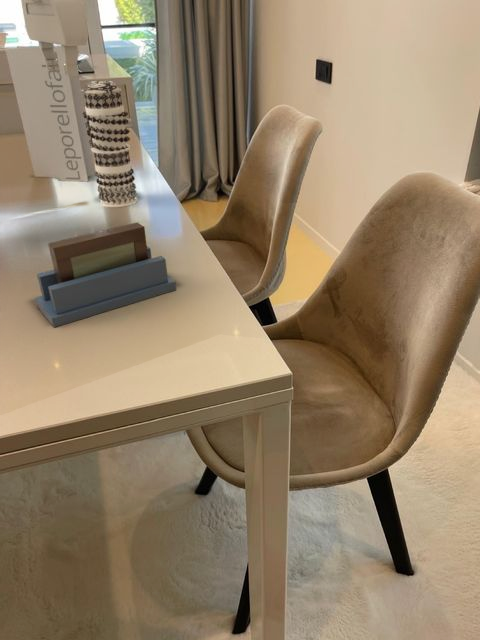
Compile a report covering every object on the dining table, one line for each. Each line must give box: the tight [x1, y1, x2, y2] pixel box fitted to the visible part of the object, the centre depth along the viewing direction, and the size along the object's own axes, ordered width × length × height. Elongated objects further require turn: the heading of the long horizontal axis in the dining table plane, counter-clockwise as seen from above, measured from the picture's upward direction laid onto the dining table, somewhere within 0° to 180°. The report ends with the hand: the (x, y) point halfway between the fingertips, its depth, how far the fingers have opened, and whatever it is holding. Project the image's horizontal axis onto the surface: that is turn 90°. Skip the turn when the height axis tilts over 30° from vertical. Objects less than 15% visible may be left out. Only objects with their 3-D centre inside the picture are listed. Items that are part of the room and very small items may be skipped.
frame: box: [47, 222, 148, 284], centre depth 85 cm, size 2×14×9 cm, turn 126°
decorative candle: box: [81, 80, 138, 208], centre depth 122 cm, size 9×9×25 cm
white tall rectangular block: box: [4, 45, 96, 182], centre depth 137 cm, size 14×6×30 cm, turn 82°
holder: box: [34, 245, 177, 328], centre depth 87 cm, size 8×20×6 cm, turn 126°
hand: (62, 73), depth 95 cm, fingers open, 8 cm apart
